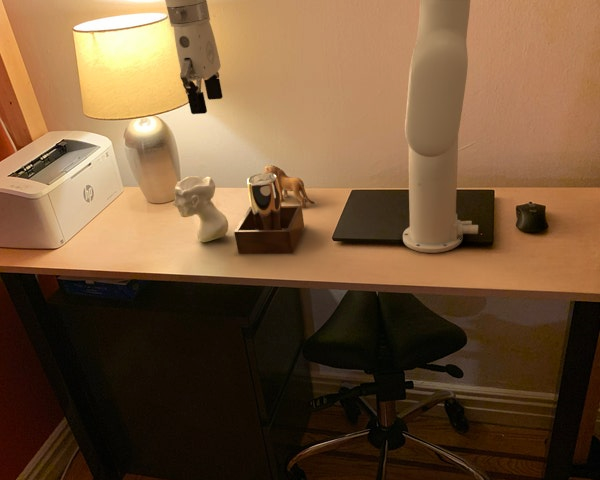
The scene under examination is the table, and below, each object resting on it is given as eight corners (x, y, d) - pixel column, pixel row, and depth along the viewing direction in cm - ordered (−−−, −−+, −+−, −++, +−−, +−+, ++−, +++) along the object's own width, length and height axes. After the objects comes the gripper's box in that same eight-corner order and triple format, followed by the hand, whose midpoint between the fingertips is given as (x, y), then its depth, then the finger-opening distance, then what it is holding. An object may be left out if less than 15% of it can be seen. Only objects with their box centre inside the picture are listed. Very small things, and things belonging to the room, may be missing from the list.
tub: (304, 226, 140) (301, 205, 136) (292, 253, 129) (289, 231, 126) (253, 227, 143) (249, 206, 140) (238, 253, 132) (233, 231, 129)
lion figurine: (263, 201, 155) (257, 168, 150) (275, 193, 158) (270, 161, 153) (309, 209, 147) (305, 175, 142) (321, 201, 150) (317, 167, 145)
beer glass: (283, 247, 132) (273, 184, 124) (253, 247, 134) (242, 185, 126) (290, 232, 138) (281, 171, 130) (261, 232, 140) (250, 173, 131)
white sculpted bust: (235, 241, 137) (223, 181, 129) (189, 255, 135) (173, 194, 126) (224, 226, 145) (211, 168, 137) (179, 238, 142) (164, 180, 134)
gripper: (190, 21, 104) (210, 118, 113) (222, 4, 117) (237, 92, 127) (152, 25, 105) (174, 120, 115) (187, 8, 119) (204, 94, 129)
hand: (207, 105), depth 121 cm, fingers open, 9 cm apart
